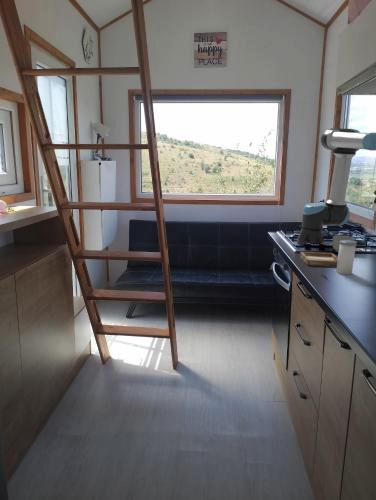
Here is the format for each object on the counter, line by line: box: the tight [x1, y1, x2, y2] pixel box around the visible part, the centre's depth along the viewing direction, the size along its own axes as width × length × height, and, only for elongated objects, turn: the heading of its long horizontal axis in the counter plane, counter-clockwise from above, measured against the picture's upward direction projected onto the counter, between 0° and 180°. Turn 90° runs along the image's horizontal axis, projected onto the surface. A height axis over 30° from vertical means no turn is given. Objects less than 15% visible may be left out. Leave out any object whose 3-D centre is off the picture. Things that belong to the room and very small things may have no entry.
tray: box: [299, 251, 338, 268], centre depth 189 cm, size 16×16×2 cm
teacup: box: [332, 234, 355, 253], centre depth 211 cm, size 14×11×8 cm
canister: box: [335, 240, 358, 276], centre depth 171 cm, size 7×7×14 cm
